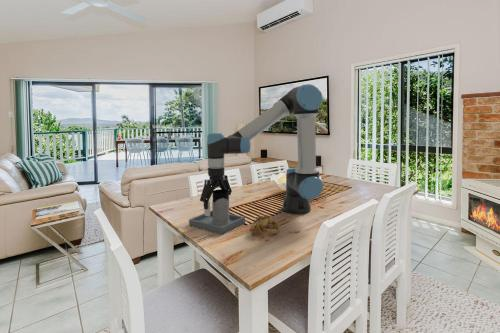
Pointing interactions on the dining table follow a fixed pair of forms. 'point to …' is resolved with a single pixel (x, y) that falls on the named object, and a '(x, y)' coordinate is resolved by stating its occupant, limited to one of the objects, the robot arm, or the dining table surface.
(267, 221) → the crab model
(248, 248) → the dining table surface
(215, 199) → the glass holder
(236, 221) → the grey square tray
